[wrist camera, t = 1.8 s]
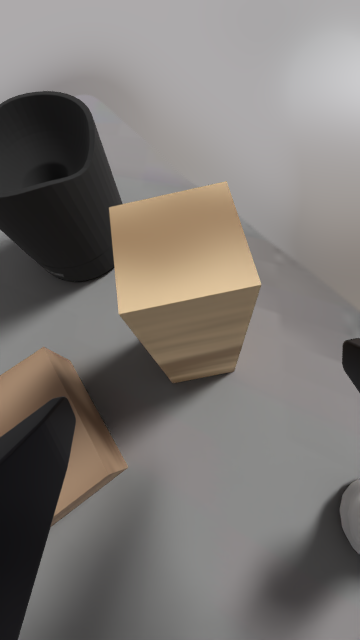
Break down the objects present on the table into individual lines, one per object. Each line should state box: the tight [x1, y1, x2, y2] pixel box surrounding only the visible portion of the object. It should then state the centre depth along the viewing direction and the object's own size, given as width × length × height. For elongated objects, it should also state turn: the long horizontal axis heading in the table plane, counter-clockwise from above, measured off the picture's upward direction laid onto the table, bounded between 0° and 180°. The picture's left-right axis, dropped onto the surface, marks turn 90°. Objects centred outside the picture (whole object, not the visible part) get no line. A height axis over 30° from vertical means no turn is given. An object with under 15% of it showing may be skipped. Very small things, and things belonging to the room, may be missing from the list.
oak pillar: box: [109, 182, 261, 383], centre depth 15 cm, size 4×4×12 cm
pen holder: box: [0, 91, 122, 281], centre depth 22 cm, size 9×9×10 cm
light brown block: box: [0, 347, 128, 526], centre depth 18 cm, size 9×9×4 cm
